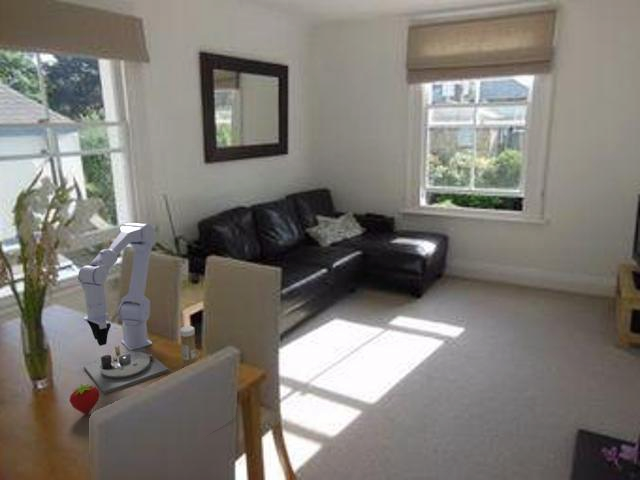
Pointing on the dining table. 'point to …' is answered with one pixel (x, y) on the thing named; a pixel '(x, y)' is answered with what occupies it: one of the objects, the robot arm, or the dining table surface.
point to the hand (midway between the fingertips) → (100, 341)
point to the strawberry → (84, 398)
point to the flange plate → (127, 368)
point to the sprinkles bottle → (188, 345)
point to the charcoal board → (115, 384)
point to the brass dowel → (117, 349)
